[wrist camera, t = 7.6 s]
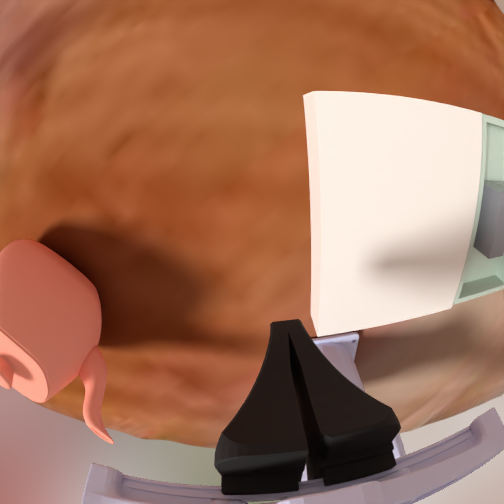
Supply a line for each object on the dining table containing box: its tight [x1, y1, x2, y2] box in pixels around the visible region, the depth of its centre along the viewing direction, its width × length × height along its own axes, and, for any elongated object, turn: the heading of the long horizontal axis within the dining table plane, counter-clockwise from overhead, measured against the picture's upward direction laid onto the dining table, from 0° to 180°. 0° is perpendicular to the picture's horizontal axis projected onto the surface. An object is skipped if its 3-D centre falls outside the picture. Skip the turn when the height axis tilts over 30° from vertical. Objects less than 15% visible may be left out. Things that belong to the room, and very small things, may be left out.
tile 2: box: [473, 180, 504, 259], centre depth 18 cm, size 6×4×2 cm
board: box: [303, 91, 482, 337], centre depth 19 cm, size 18×14×3 cm
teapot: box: [0, 239, 114, 444], centre depth 18 cm, size 13×20×12 cm, turn 53°
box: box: [452, 114, 504, 305], centre depth 19 cm, size 18×10×3 cm, turn 6°
